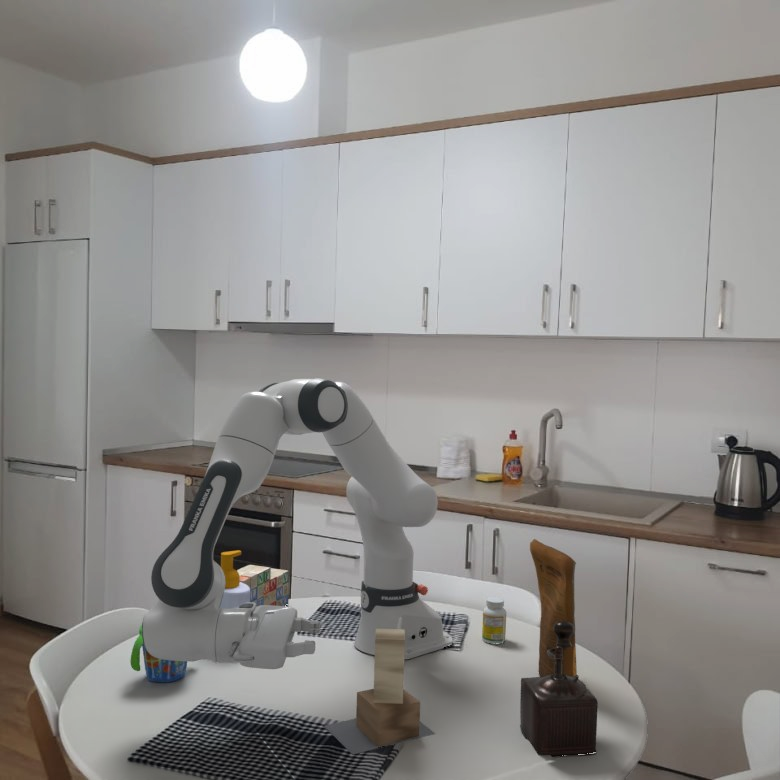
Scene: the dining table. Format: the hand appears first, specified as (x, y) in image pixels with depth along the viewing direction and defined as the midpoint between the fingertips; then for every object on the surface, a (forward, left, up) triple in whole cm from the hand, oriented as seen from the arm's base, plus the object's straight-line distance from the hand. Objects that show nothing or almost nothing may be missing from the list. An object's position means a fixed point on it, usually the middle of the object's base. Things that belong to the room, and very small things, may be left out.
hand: (317, 637), depth 137 cm
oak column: (-10, +7, -10) cm, 16 cm away
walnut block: (-11, +7, -16) cm, 20 cm away
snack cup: (+18, -33, -16) cm, 41 cm away
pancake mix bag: (-51, +3, -16) cm, 54 cm away
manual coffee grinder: (-36, +20, -17) cm, 45 cm away
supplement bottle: (-54, -21, -16) cm, 61 cm away
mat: (-9, +6, -16) cm, 20 cm away
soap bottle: (+2, -45, -16) cm, 48 cm away
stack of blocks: (-11, -60, -17) cm, 63 cm away
